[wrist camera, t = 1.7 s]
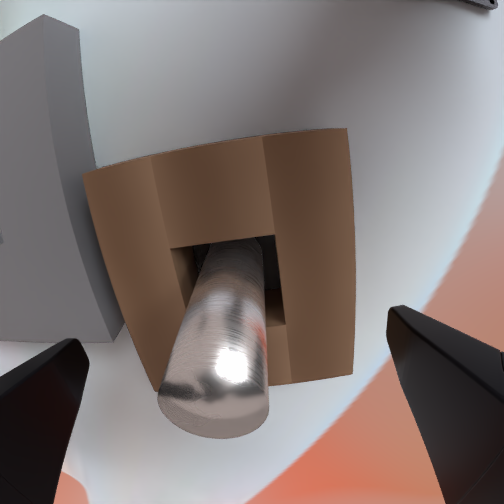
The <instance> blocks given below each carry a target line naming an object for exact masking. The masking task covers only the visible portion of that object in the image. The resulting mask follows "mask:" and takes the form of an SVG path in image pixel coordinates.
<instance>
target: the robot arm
mask: <svg viewBox="0 0 504 504" xmlns="http://www.w3.org/2000/svg"><path fill="white" fill-rule="evenodd" d="M459 1H463V2H466V3H470V4H473V5H476V6H480V7H483V8H486V9H489V10H493V9H496V8H497V7H498V3H497V0H459ZM489 1H490V2H489ZM386 337H387V342H388V345H389V348H390V351H391V354H392V358H393V361H394V364H395V367H396V371H397V374H398V377H399V381H400V384H401V387H402V389H403V392H404V394H405V396H406V399H407V401H408V403H409V406H410V408H411V411H412V413H413V416H414V418H415V421H416V423H417V426H418V428H419V431H420V433H421V436H422V438H423V441H424V444H425V446H426V449H427V451H428V454H429V457H430V459H431V462H432V465H433V468H434V471H435V474H436V476H437V479H438V482H439V485H440V488H441V491H442V494H443V497H444V500H445V503H446V504H504V352H500V350H498V349H496V348H494V347H492V346H490V345H487V344H486V343H483V342H481V341H479V340H477V339H475V338H473V337H471V336H469V335H467V334H465V333H462V332H460V331H458V330H456V329H454V328H452V327H450V326H448V325H446V324H443V323H441V322H439V321H437V320H435V319H433V318H431V317H428V316H426V315H424V314H422V313H420V312H418V311H416V310H413V309H411V308H409V307H407V306H405V305H400V306H394V307H391V308H390V309H389V311H388V319H387V330H386ZM88 370H89V359H88V357H87V354H86V352H85V350H84V348H83V346H82V344H81V342H80V341H79V340H78V339H77V338H66V339H64V340H62V341H60V342H59V343H57V344H55V345H54V346H52V347H50V348H48V349H47V350H45V351H43V352H41V353H40V354H38V355H36V356H35V357H33V358H31V359H30V360H28V361H26V362H24V363H23V364H21V365H19V366H18V367H16V368H14V369H13V370H11V371H9V372H7V373H6V374H4V375H2V376H1V377H0V504H53V503H54V498H55V494H56V489H57V485H58V481H59V477H60V473H61V469H62V465H63V462H64V458H65V454H66V451H67V447H68V444H69V440H70V437H71V433H72V430H73V427H74V424H75V420H76V417H77V414H78V411H79V408H80V404H81V400H82V395H83V391H84V387H85V382H86V378H87V374H88Z"/></svg>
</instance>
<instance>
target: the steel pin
mask: <svg viewBox="0 0 504 504" xmlns="http://www.w3.org/2000/svg"><path fill="white" fill-rule="evenodd" d="M158 404H159V406H160V409H161V411H162V412H163V414H164V415H165V416H166V417H167V418H168V419H169V420H170V421H171V422H172V423H173V424H175V425H176V426H178V427H179V428H181V429H183V430H185V431H187V432H189V433H192V434H195V435H198V436H202V437H207V438H215V439H227V438H235V437H240V436H243V435H246V434H248V433H251V432H253V431H254V430H256V429H257V428H259V427H260V426H261V425H262V424H263V423H264V421H265V420H266V418H267V416H268V412H269V396H268V369H267V343H266V318H265V295H264V273H263V253H262V249H261V246H260V245H259V243H258V242H257V240H256V239H255V238H254V237H251V238H244V239H236V240H229V241H221V242H214V243H211V245H210V247H209V250H208V253H207V255H206V258H205V261H204V263H203V266H202V269H201V271H200V274H199V277H198V279H197V282H196V285H195V287H194V290H193V293H192V296H191V298H190V301H189V304H188V307H187V309H186V312H185V315H184V318H183V320H182V323H181V326H180V329H179V332H178V335H177V337H176V340H175V343H174V346H173V349H172V352H171V355H170V358H169V361H168V364H167V367H166V370H165V372H164V375H163V378H162V381H161V384H160V387H159V391H158Z"/></svg>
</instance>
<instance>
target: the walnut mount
mask: <svg viewBox="0 0 504 504" xmlns="http://www.w3.org/2000/svg"><path fill="white" fill-rule="evenodd" d="M82 177H83V182H84V186H85V191H86V195H87V199H88V204H89V208H90V212H91V216H92V219H93V223H94V227H95V231H96V234H97V238H98V241H99V245H100V248H101V252H102V255H103V258H104V262H105V265H106V268H107V271H108V274H109V277H110V280H111V283H112V286H113V289H114V292H115V295H116V298H117V301H118V303H119V306H120V309H121V312H122V314H123V317H124V320H125V322H126V325H127V328H128V330H129V333H130V335H131V338H132V340H133V343H134V345H135V348H136V350H137V352H138V355H139V357H140V360H141V362H142V364H143V366H144V369H145V371H146V373H147V375H148V378H149V380H150V382H151V384H152V386H153V389H154V391H155V392H158V391H159V387H160V384H161V381H162V378H163V375H164V372H165V370H166V367H167V364H168V361H169V358H170V355H171V352H172V349H173V346H174V343H175V340H176V337H177V335H178V332H179V329H180V326H181V323H182V320H183V318H184V315H185V312H186V309H187V307H188V304H189V301H190V298H191V296H192V293H193V290H194V287H195V285H196V282H197V279H198V277H199V275H198V270H197V266H196V261H195V257H194V252H193V248H192V245H199V244H206V243H214V242H221V241H229V240H236V239H244V238H251V237H259V236H266V235H274V238H275V246H276V254H277V262H278V270H279V278H280V287H281V288H276V289H268V290H264V295H265V318H266V343H267V369H268V386H275V385H284V384H292V383H300V382H307V381H314V380H321V379H327V378H333V377H339V376H345V375H351V374H353V359H354V338H355V303H356V262H355V226H354V206H353V190H352V176H351V164H350V153H349V143H348V134H347V128H327V129H315V130H304V131H294V132H285V133H276V134H268V135H260V136H253V137H246V138H239V139H232V140H226V141H220V142H214V143H208V144H203V145H197V146H192V147H187V148H181V149H176V150H172V151H167V152H162V153H158V154H153V155H149V156H144V157H140V158H136V159H132V160H128V161H124V162H120V163H116V164H112V165H109V166H106V167H102V168H99V169H96V170H93V171H89V172H86V173H83V174H82Z"/></svg>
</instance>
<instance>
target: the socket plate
mask: <svg viewBox="0 0 504 504" xmlns="http://www.w3.org/2000/svg"><path fill="white" fill-rule="evenodd" d="M93 170H96V164H95V159H94V153H93V148H92V142H91V136H90V130H89V124H88V117H87V110H86V103H85V95H84V87H83V78H82V67H81V55H80V40H79V29H77V28H75V27H73V26H70V25H68V24H66V23H64V22H61V21H59V20H57V19H54V18H52V17H49V16H47V15H45V14H43V15H41V16H39V17H38V18H36V19H34V20H32V21H31V22H29V23H27V24H26V25H24V26H23V27H21V28H19V29H18V30H16V31H15V32H13V33H12V34H10V35H9V36H7V37H6V38H4V39H3V40H1V41H0V231H1V233H0V341H18V342H49V343H59V342H60V341H62V340H64V339H66V338H77V339H78V340H79V341H80V342H81V343H109V342H114V340H115V338H116V337H117V335H118V333H119V332H120V330H121V328H122V327H123V325H124V323H125V320H124V317H123V314H122V312H121V309H120V306H119V303H118V301H117V298H116V295H115V292H114V289H113V286H112V283H111V280H110V277H109V274H108V271H107V268H106V265H105V262H104V258H103V255H102V252H101V248H100V245H99V241H98V238H97V234H96V231H95V227H94V223H93V219H92V216H91V212H90V208H89V204H88V199H87V195H86V191H85V186H84V182H83V177H82V174H83V173H86V172H89V171H93Z"/></svg>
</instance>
